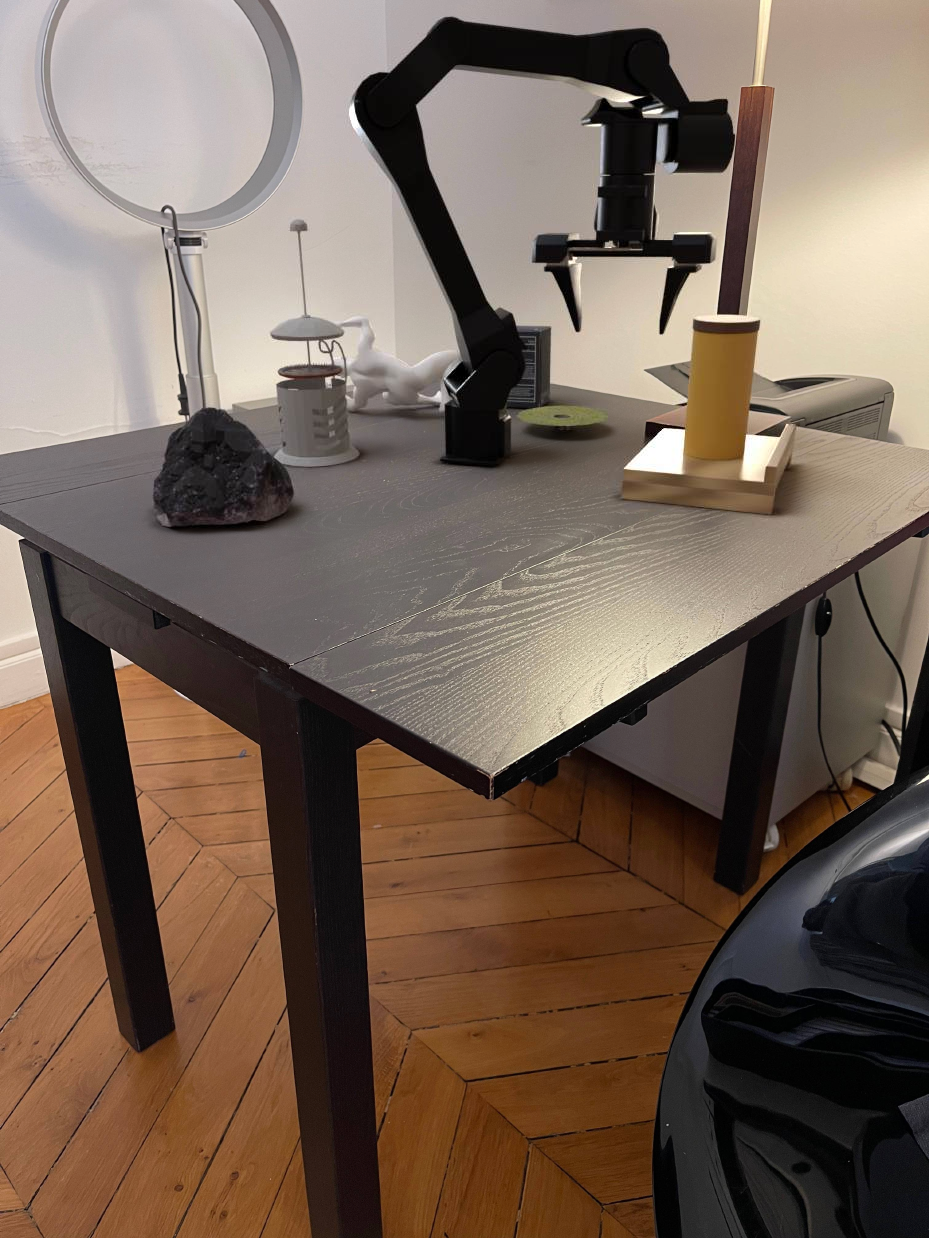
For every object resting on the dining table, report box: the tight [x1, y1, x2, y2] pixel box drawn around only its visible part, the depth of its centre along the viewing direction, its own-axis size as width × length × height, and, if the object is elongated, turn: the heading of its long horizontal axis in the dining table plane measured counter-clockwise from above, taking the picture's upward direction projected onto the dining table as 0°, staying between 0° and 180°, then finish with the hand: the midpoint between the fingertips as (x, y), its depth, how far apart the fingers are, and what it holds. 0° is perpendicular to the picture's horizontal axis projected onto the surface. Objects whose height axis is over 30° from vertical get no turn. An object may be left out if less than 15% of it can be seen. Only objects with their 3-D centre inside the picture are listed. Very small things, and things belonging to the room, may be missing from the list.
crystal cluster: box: [152, 406, 295, 528], centre depth 87 cm, size 13×14×10 cm
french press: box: [269, 218, 361, 468], centre depth 102 cm, size 10×12×25 cm
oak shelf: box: [620, 423, 797, 515], centre depth 94 cm, size 14×18×4 cm
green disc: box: [516, 405, 609, 431], centre depth 116 cm, size 11×11×2 cm
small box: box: [506, 325, 552, 409], centre depth 130 cm, size 11×6×10 cm, turn 71°
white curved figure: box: [325, 315, 461, 414], centre depth 124 cm, size 13×13×18 cm
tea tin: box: [683, 314, 761, 460], centre depth 91 cm, size 6×6×13 cm
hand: (619, 333), depth 102 cm, fingers open, 9 cm apart
